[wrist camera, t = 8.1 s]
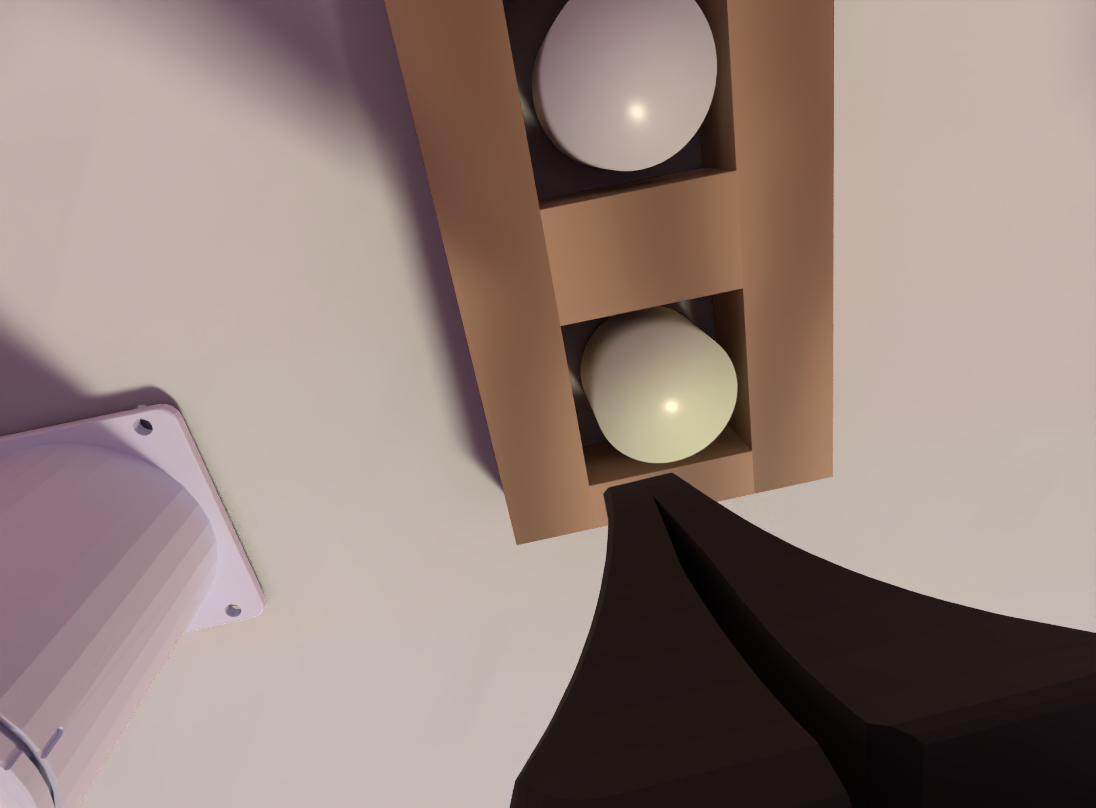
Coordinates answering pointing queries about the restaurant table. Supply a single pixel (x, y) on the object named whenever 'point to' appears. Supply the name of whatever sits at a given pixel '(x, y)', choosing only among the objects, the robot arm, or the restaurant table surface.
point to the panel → (638, 252)
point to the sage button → (657, 384)
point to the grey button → (624, 80)
